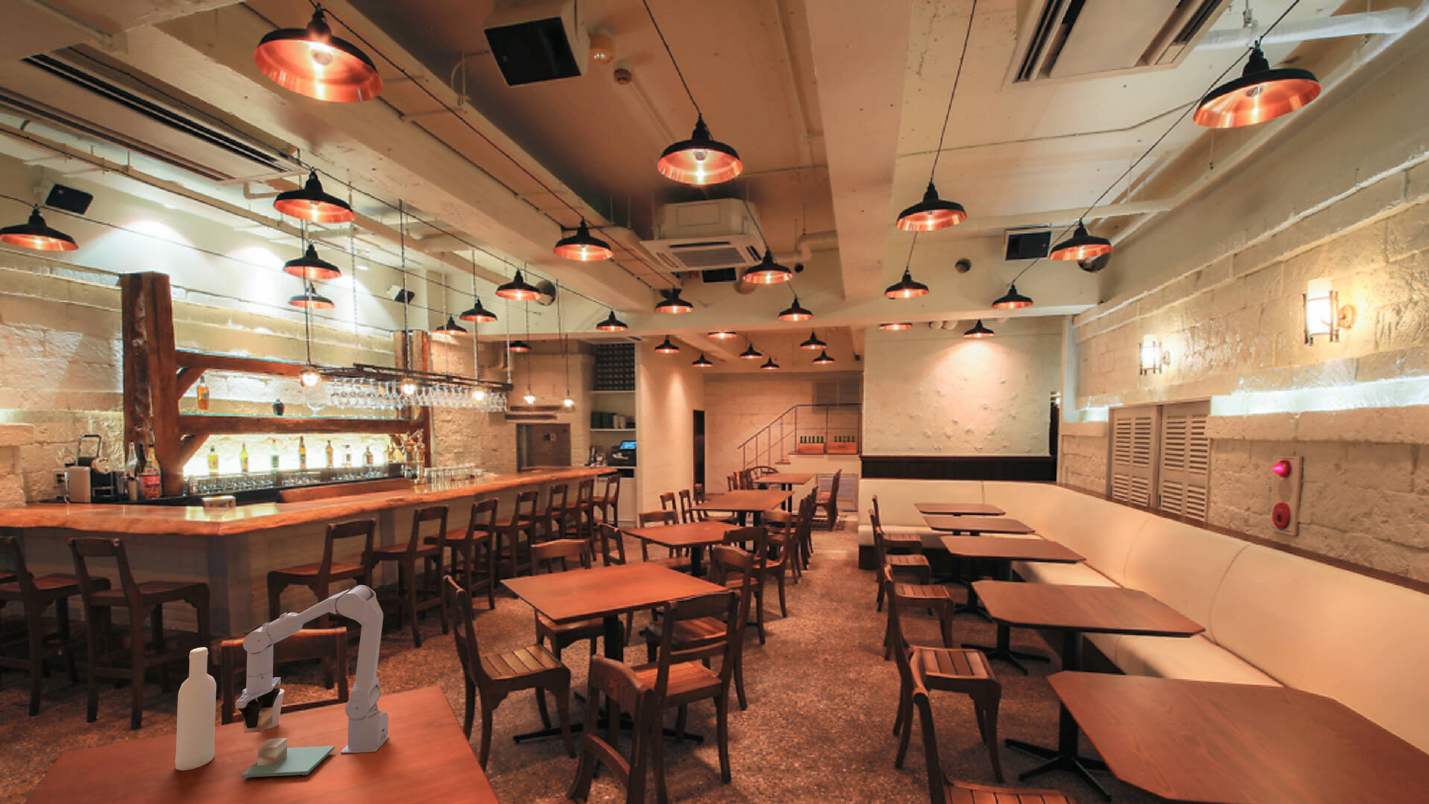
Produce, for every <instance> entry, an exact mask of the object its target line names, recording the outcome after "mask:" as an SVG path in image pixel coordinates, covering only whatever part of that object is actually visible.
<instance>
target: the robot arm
mask: <svg viewBox="0 0 1429 804" xmlns="http://www.w3.org/2000/svg"><path fill="white" fill-rule="evenodd" d="M327 613H331V614H334V615H336V614H340V615H341V616H343V617H346V618H348V619H350V620H353V621H356V622H358V623H359V624H360V626H361V629H360V639H359V647H358V655H357V663H356V670H355V681H354V684H353V685H352V689H351V691H350V697H349V698H348V700H347V702H346V704H345V705H344V706H345V707H344V711H345V714H346V716H347V717H348V719H347V720H348V721H347V722H348V725H347V727H348V728H347V745H346V746H345V747H343V749H341V751H340V754H354V753H358V754H359V753H373V752H374V753H376V752H377V751H378V749H380V748H381V747H382V746H383V744H384V743H385V742H386V741H387V740H388V739H389V737H390V735H389V715H388V713H387V711H381V710H379V707H378V704H377V702H378V701H379V699H380V698H381V697H382V691H381V690H382V689H381V687H380V683H379V682H380V678H379V677H377V673H378V665H379V655H380V648H381V641H382V640H381V639H382V631H383V624H384V623H383V622H384V612H383V610H382V607H381V606H380V603H379V601H378V600H377V594H376V591H374V590H373V589H372V588H370V587H369V586H367V585H363V584H359V585H357V586H355V587H353V588H352V589H350V588H349V589H346V590H343V591H341V592H339V593H337V594H333V595H332V596H329V597H328V598H326V599H324V600H322V601H321V602H318V603H316V604H315V605H313V606H311V607H308V609H305V610H303V611H302V612H298V613H297V612H289V613H288V612H284V613H282V614H280V615H279V618H277V619H275V620H273V621H271V622H268V621H267V622H265V623H263V624H261V626H260V627H258V628H257V629H255V630H253V631H251V632H250V633H248V634H247V635H246V636H245V637H244V638H243V641H242V646H243V650H245V651H246V652H247V653H246V655H247V656H246V684H245V685H246V688H244V689H243V690H242V691H241V692H242V695H241V696H240V698H239V699H237V700H236V701H235V709H238V711H239V712H240V713H241V715H242V717H243V720H244V719H245V722H246V726H247V728H255V727H257V724H258V717H259V712H260V708H271V707H273V705H274V702H275V700H276V698H277V696H278V694H279V692H280V689H281V688H278V686H280V685H281V682H282V681H281V679H282V678H281V677H273V676H274V674H273V673H274V671H273V670H274V644H276V643H278V642H280V641H282V640H285V639H286V638H288V637H290V636H293V635H294V634H296V633H298V632H300V631H301V630H302V628H303V627H304V624H306V623H308V622H310V621H312V620H314V619H317V618H318V617H321V616H323V615H325V614H327ZM275 687H277V688H275Z"/></svg>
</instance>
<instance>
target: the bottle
mask: <svg viewBox="0 0 1429 804" xmlns="http://www.w3.org/2000/svg"><path fill="white" fill-rule="evenodd" d="M208 655H209V651H208V648H207V647H197V648H194V649H191V650H190V652H189V656H188V659H189V666H188V667H189V668H188V669H189V671H188V677H187V679H185V680H184V681H183V682H182V683H181V686H180V688H179V690H178V693H177V709H176V710H177V711H176V712H177V717H176V741H175V742H176V745H175V759H174V760H175V761H174V763H175V769H176V771H177V770H178V771H189V770H194V769H197V768H201V767H202V766H205V765H206V764H209V763H210V762H211V761H212V760H213V759H214V757H215V747H216V746H215V738H216V737H215V733H216V732H215V730H216V729H215V728H216V704H217V703H216V701H217V699H216V697H217V682H216V680H215V678H214V677H213V676H212V675H210V674H209V673H208Z"/></svg>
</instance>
